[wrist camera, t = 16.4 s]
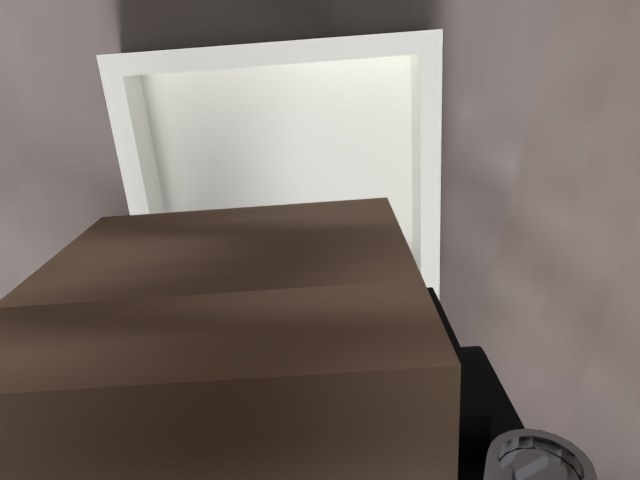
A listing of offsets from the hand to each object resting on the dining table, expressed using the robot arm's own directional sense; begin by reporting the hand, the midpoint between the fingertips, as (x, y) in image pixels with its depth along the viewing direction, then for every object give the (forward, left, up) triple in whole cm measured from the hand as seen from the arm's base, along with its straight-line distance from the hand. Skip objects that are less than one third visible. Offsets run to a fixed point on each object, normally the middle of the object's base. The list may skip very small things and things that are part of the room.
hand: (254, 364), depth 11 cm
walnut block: (0, 0, -1) cm, 1 cm away
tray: (0, 0, -13) cm, 13 cm away
